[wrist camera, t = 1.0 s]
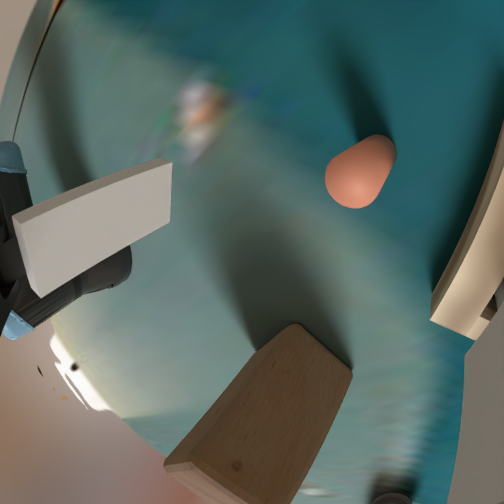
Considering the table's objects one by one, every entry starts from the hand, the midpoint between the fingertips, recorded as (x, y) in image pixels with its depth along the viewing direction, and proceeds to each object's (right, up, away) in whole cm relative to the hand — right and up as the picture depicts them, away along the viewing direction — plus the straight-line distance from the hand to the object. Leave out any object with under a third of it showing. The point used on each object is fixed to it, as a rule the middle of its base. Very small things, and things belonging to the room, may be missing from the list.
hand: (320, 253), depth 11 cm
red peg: (+8, +8, +13) cm, 17 cm away
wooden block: (+4, -13, +27) cm, 31 cm away
